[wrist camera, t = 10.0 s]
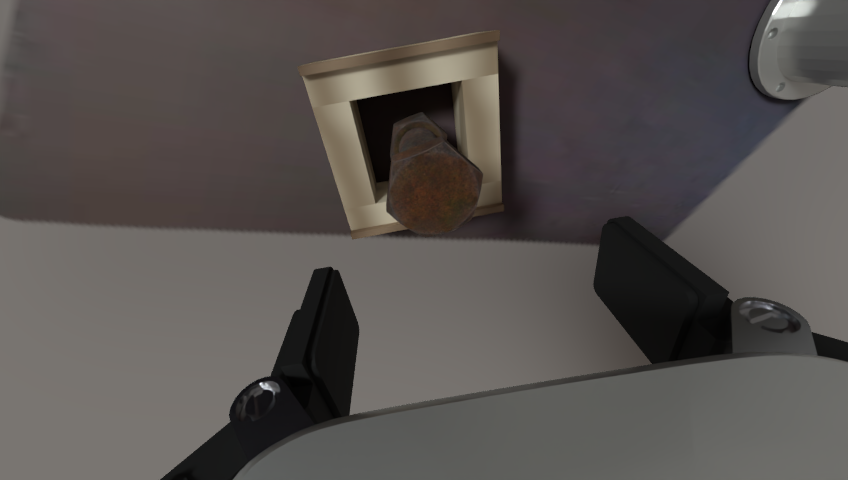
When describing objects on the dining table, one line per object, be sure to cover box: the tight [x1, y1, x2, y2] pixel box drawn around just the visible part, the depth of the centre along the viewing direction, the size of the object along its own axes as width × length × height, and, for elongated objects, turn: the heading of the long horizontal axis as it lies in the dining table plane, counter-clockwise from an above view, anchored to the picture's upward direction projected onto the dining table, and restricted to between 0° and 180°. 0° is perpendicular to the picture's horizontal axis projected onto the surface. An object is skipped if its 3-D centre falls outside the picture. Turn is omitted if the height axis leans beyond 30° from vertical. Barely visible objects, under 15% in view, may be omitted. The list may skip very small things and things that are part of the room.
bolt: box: [386, 112, 483, 237], centre depth 24 cm, size 6×5×15 cm
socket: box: [298, 30, 504, 239], centre depth 28 cm, size 14×14×6 cm
